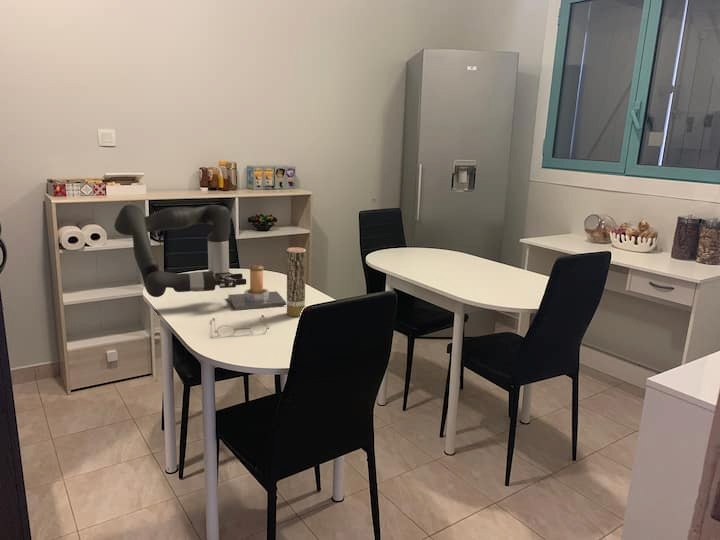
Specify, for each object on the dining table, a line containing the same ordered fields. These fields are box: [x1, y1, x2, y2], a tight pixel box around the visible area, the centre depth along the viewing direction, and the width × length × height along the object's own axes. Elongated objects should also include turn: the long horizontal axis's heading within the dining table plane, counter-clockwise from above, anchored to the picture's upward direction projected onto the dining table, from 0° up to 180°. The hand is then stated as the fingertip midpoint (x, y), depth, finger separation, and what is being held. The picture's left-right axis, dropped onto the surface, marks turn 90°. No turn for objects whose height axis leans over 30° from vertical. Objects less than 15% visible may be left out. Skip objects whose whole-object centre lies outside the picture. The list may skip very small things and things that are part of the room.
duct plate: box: [227, 288, 287, 311], centre depth 225 cm, size 16×20×4 cm
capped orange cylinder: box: [249, 264, 264, 294], centre depth 224 cm, size 5×5×13 cm
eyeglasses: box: [213, 314, 270, 336], centre depth 198 cm, size 18×19×4 cm
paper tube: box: [286, 246, 307, 317], centre depth 209 cm, size 7×7×25 cm
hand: (244, 278), depth 221 cm, fingers open, 8 cm apart
